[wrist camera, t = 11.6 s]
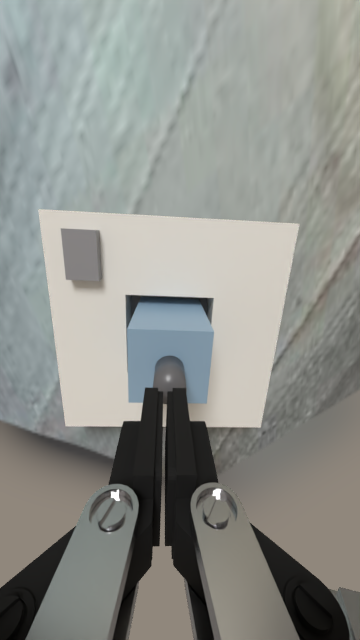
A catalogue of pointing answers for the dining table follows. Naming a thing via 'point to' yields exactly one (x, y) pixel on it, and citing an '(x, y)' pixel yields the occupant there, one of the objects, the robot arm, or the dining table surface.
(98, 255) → the socket
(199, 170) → the dining table surface
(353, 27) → the dining table surface
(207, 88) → the dining table surface
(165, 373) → the plug
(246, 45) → the dining table surface
